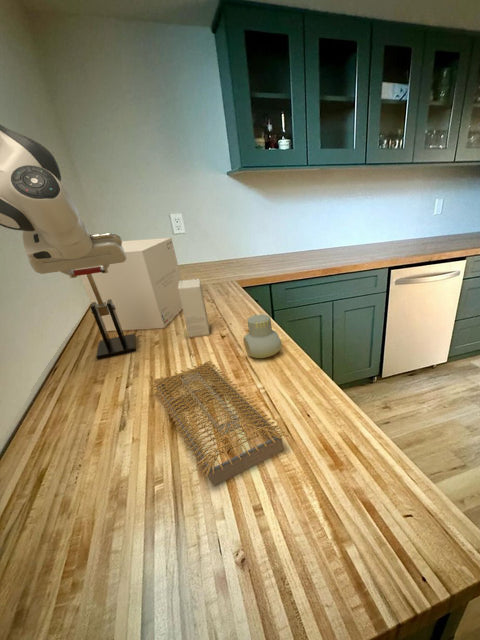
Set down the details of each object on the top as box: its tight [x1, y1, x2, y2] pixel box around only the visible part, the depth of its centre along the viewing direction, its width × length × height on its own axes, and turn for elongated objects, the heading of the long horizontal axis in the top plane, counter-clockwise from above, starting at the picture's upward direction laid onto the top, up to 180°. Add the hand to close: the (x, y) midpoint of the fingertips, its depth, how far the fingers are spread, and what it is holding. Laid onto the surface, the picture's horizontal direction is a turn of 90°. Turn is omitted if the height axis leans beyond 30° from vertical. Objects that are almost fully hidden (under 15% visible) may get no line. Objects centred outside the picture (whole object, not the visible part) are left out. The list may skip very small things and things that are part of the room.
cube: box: [77, 237, 183, 332], centre depth 117 cm, size 25×21×24 cm
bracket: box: [90, 299, 137, 361], centre depth 97 cm, size 12×10×14 cm
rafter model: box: [148, 360, 290, 487], centre depth 65 cm, size 35×14×6 cm, turn 34°
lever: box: [74, 267, 109, 316], centre depth 91 cm, size 13×6×2 cm
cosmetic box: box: [178, 278, 210, 338], centre depth 103 cm, size 8×7×16 cm
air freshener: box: [242, 313, 283, 359], centre depth 88 cm, size 11×8×10 cm
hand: (89, 273), depth 89 cm, fingers closed on lever, 6 cm apart
